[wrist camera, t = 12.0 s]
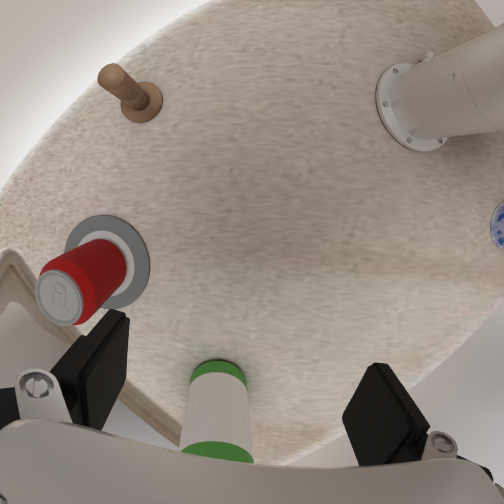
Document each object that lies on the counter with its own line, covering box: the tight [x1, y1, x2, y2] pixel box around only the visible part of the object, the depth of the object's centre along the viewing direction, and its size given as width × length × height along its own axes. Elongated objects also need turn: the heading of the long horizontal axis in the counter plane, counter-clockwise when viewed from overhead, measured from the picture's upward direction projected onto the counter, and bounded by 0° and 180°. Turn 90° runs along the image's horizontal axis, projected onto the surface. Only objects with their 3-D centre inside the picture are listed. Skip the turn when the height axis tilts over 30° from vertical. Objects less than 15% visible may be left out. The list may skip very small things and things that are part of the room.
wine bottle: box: [179, 361, 254, 464], centre depth 26 cm, size 8×8×30 cm
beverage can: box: [35, 239, 127, 326], centre depth 29 cm, size 7×7×12 cm
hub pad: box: [64, 215, 150, 309], centre depth 35 cm, size 12×12×1 cm
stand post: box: [98, 63, 163, 123], centre depth 26 cm, size 5×5×11 cm
